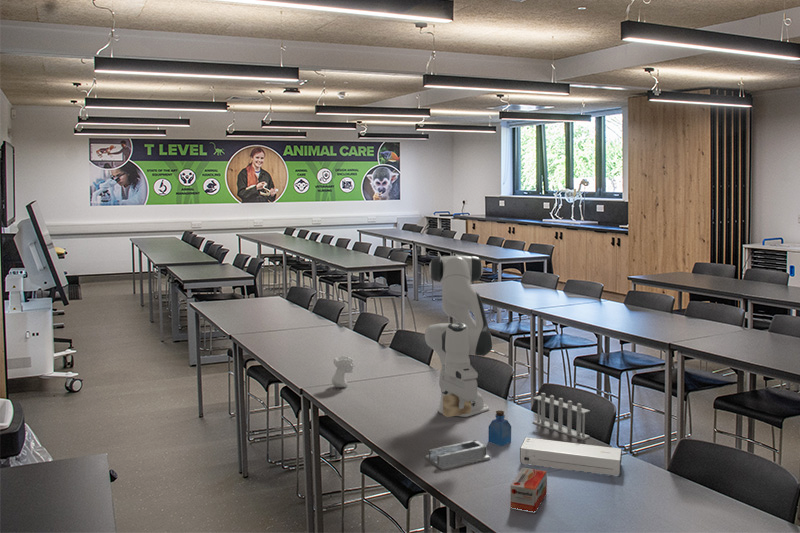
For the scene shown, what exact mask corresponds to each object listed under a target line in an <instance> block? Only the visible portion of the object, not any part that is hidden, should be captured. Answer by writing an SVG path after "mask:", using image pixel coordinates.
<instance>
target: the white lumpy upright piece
mask: <svg viewBox="0 0 800 533" xmlns="http://www.w3.org/2000/svg"><path fill="white" fill-rule="evenodd" d="M333 365H334V366H335V367H336V370H335V373H334V375H333V376H332V378H331V384H332V385H333V387H335V388H347V387H348V382H347V380H346V378H345V375H346V373H347V374H351V373H353V371H354V367H355V364H354V362H353V358H351V357H349V356H346V355H341V356H338V357H334V358H333Z"/></svg>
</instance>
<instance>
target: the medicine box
mask: <svg viewBox="0 0 800 533" xmlns="http://www.w3.org/2000/svg"><path fill="white" fill-rule="evenodd" d="M509 487H510V488H509V489H510V508H511V507H512V508H516V509H517V508H518V509H522V510H528V511H533V512H534V511H536V510H537V508H538V507H539V505H540V503H541V502H542V503H543V501H544V500H543V498H544V497H545V498H546V496H547V494H546V493H547V492H548V489H547V487H548V472H547V470H546V471H545V470H539V469H535V468H534V469H533V468H527V467H522V468H521V469H520V470H519V473H518V474H517V475H516V477H515V478H514V480H513V481H512V482H511V484H510V486H509ZM545 495H546V496H545ZM545 498H544V499H545ZM542 500H543V501H542ZM542 503H541V504H542ZM540 506H541V505H540ZM539 508H540V507H539ZM539 508H538V509H539ZM537 511H538V510H537Z"/></svg>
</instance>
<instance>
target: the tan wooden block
mask: <svg viewBox="0 0 800 533" xmlns="http://www.w3.org/2000/svg"><path fill="white" fill-rule="evenodd" d="M459 401H460V400H459V397H458V396H456V395H454V394H450V395H444V396H443V414H442V415H443V416H444V417H447V418H450V417H451V418H452V417H457V416H456V415H462V414H467V413H471V401H466V400H465V403H464V408H463V409H459V408H458V407H457V406H458V405H457V403H459Z"/></svg>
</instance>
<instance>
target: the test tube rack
mask: <svg viewBox="0 0 800 533" xmlns="http://www.w3.org/2000/svg"><path fill="white" fill-rule="evenodd" d="M533 400H536V401H537V419H536V420H533V421H532V424H535V425H536V426H540V427H542V428H546V429H548V430H551V431H553V432H557V433H560V434H563V435H565V436H569V437H573V438H575V439H578V440H581V441H585V440H587V439H589V438H590V436H591V435H589V434H585V424H586V422H585V420H586V414H588V413H589V412H591V410H590V409H586V408H583V407H582V406H583V404H582V403H580V402H578V403H577V404H576V405H573V401H572V400H567V403H566V402H564V398H563V397H558V400H556V399H555V396H554V395H553V394H551V395H549V397H546V393H545V392H541V393H540V395H538V396H533ZM546 404H549V413H548V414H549V418H548V419H549V421H546ZM555 406H556V407H558V410H557V413H558V414H557V416H558V417H557V419H558V420H557V424H555V423H554V421H555V419H554V418H555ZM564 409H566V410H567V411H566V412H567V415H566V416H567V417H566V418H567V420H566V421H567V423H566V427H564V426H563V424H564V419H563V416H564V413H563V412H564ZM573 411H574V412H576V430H573V429H572V428H573V427H572V426H573V425H572V424H573V422H572V421H573Z"/></svg>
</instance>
